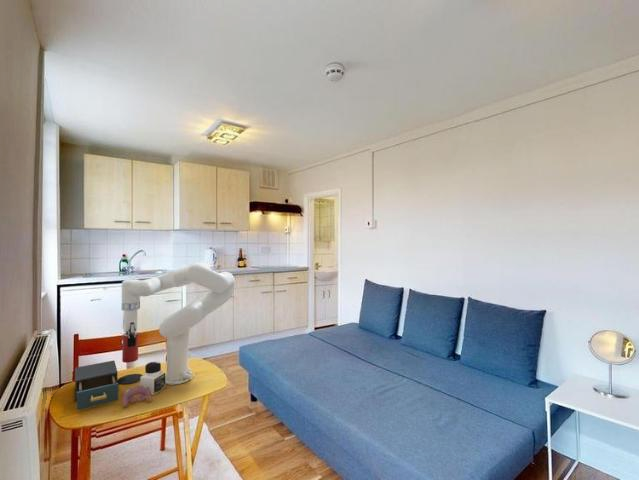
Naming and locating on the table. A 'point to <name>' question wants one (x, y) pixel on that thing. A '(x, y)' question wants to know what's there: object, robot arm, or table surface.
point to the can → (129, 349)
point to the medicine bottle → (153, 377)
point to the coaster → (129, 379)
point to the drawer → (97, 392)
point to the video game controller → (133, 391)
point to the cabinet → (94, 372)
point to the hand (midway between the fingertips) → (130, 343)
